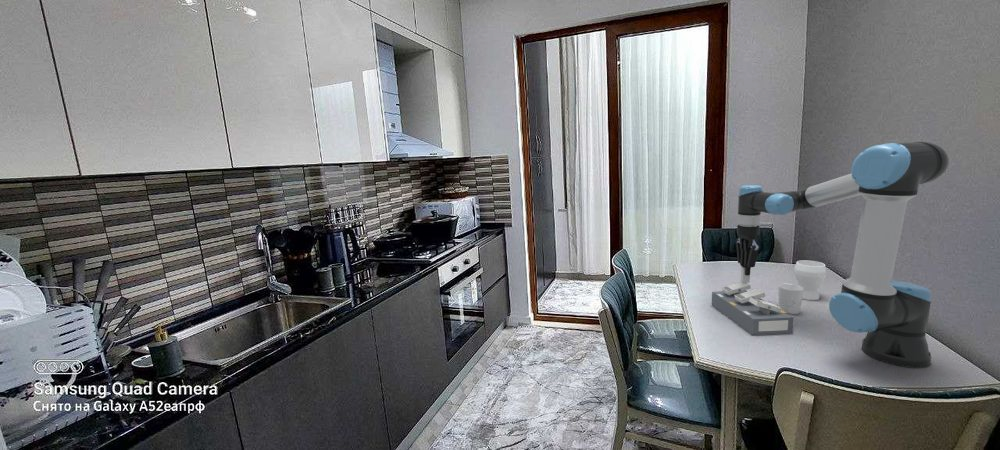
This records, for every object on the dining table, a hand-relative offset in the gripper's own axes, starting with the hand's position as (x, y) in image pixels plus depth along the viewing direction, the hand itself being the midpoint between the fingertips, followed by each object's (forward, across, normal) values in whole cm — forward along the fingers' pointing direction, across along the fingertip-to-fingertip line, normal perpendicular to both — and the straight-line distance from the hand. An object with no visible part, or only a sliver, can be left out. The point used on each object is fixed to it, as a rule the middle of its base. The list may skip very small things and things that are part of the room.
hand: (744, 282), depth 160 cm
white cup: (+12, -4, -16) cm, 20 cm away
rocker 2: (+2, -9, +4) cm, 10 cm away
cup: (+12, +9, -32) cm, 36 cm away
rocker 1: (+2, 0, +4) cm, 4 cm away
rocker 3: (+2, -18, +4) cm, 19 cm away
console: (+11, -9, +4) cm, 15 cm away
